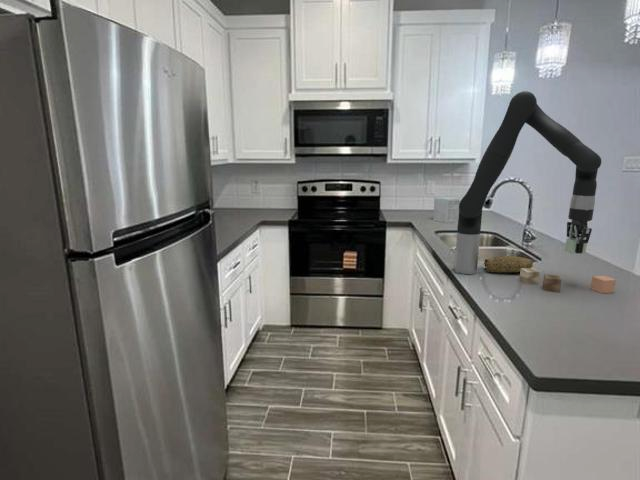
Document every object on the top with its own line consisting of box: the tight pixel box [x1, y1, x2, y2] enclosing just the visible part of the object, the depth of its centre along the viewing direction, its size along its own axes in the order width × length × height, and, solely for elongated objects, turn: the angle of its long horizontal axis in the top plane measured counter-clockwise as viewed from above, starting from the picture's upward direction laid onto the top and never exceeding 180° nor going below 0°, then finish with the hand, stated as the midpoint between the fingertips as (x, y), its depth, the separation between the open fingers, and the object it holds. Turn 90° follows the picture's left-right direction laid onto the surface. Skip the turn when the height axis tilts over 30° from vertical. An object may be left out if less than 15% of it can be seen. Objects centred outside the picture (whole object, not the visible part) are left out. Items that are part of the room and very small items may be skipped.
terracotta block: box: [589, 275, 616, 294], centre depth 143 cm, size 5×5×5 cm
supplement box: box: [432, 196, 461, 224], centre depth 286 cm, size 13×13×18 cm
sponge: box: [483, 255, 534, 274], centre depth 166 cm, size 13×8×20 cm
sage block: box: [564, 237, 588, 255], centre depth 147 cm, size 5×5×5 cm
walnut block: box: [542, 274, 562, 293], centre depth 144 cm, size 5×5×5 cm
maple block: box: [519, 267, 541, 285], centre depth 153 cm, size 5×5×5 cm
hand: (575, 251), depth 147 cm, fingers closed on sage block, 5 cm apart
